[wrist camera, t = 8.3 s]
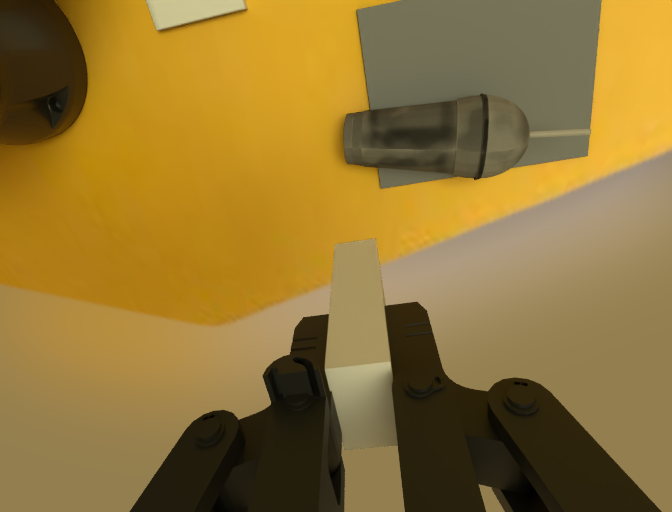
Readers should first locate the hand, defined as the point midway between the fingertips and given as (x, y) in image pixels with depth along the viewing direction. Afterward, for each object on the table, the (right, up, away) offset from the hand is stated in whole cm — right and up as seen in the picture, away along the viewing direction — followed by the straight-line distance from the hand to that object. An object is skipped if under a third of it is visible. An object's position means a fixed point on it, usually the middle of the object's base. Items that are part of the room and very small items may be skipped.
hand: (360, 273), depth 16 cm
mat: (+12, +16, +23) cm, 31 cm away
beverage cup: (0, +11, +23) cm, 26 cm away
